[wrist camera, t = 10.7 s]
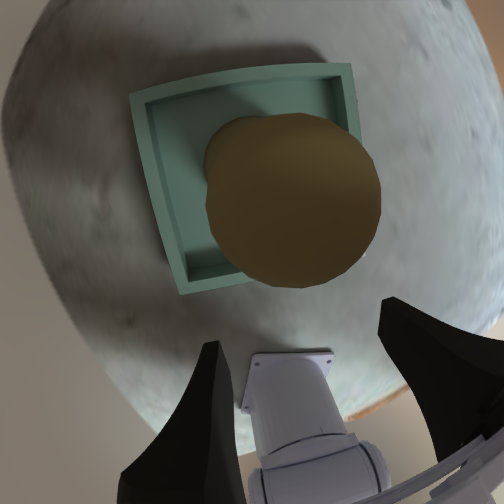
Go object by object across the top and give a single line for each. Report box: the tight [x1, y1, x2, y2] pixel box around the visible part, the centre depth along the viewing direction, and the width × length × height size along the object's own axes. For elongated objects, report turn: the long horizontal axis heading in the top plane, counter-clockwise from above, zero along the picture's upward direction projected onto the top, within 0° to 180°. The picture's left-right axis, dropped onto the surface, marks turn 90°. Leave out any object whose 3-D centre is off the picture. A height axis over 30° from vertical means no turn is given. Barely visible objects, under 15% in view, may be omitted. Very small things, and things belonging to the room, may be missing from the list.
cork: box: [203, 112, 381, 288], centre depth 12 cm, size 6×6×11 cm
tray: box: [128, 63, 366, 295], centre depth 16 cm, size 13×13×2 cm
